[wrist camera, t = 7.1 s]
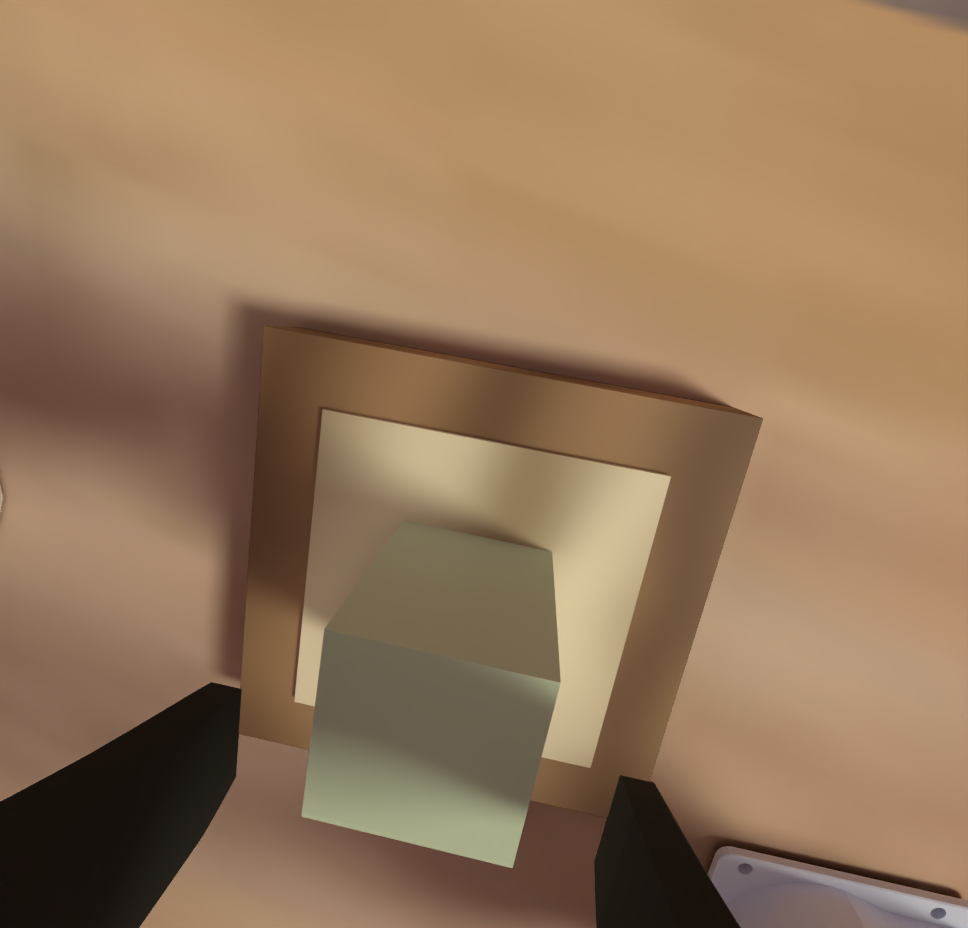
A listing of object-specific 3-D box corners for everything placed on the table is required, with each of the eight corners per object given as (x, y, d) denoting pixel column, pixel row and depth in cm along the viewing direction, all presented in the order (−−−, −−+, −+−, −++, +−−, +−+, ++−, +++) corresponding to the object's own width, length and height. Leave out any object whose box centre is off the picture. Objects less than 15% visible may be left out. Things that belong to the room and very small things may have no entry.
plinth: (733, 407, 16) (766, 419, 14) (625, 772, 20) (636, 830, 17) (298, 327, 17) (260, 326, 15) (268, 692, 21) (234, 737, 18)
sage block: (552, 551, 15) (561, 683, 10) (521, 681, 17) (512, 868, 11) (403, 520, 16) (324, 629, 10) (383, 650, 17) (301, 816, 11)
